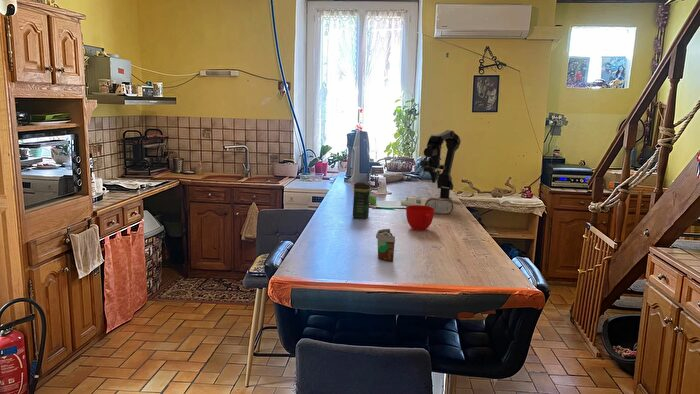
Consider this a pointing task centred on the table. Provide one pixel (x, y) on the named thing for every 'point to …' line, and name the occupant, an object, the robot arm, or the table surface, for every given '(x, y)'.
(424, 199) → the tile
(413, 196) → the plate
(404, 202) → the box
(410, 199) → the tile
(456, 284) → the table surface
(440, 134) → the robot arm
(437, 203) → the tin
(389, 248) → the food container
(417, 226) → the ceramic cup
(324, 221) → the table surface
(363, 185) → the coffee jar
